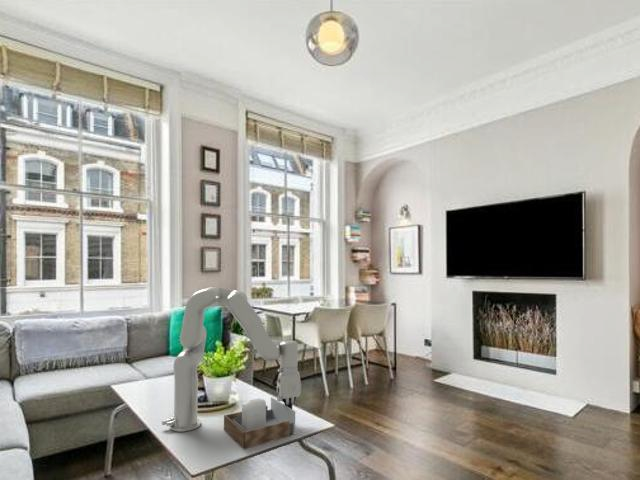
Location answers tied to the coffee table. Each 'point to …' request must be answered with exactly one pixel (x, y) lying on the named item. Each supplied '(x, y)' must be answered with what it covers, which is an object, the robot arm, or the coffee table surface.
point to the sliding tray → (274, 415)
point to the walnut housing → (255, 432)
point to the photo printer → (254, 414)
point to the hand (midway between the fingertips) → (288, 412)
